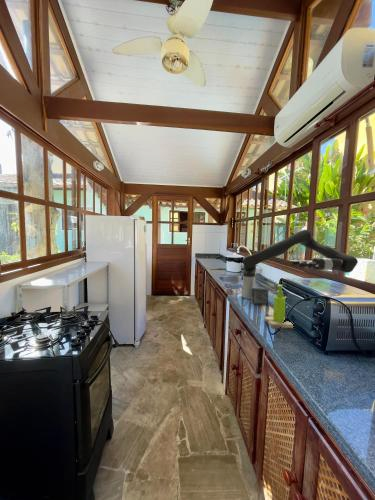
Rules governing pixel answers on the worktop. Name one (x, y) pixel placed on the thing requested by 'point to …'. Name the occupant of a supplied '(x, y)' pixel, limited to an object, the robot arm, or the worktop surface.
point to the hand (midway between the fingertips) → (295, 263)
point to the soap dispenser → (279, 306)
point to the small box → (260, 296)
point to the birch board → (277, 323)
